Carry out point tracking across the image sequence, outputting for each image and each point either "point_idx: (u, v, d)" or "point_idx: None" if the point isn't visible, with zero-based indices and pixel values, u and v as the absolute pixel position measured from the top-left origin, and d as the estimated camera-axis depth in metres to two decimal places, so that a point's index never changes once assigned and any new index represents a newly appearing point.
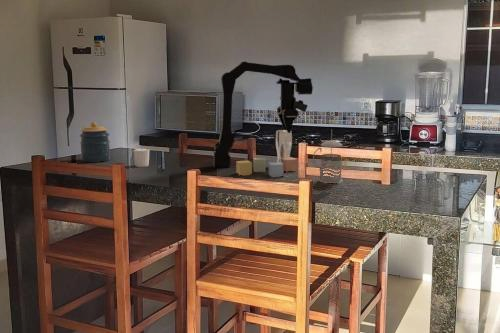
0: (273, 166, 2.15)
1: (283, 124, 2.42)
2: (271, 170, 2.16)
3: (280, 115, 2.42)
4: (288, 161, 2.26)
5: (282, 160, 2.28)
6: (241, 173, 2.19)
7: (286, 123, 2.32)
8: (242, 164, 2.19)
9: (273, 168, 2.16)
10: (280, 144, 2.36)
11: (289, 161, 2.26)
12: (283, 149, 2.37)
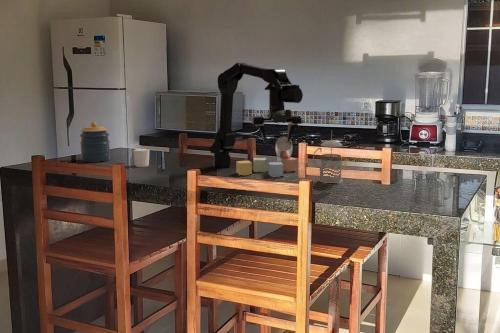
0: (273, 166, 2.15)
1: (287, 135, 2.18)
2: (271, 170, 2.16)
3: (288, 125, 2.18)
4: (288, 161, 2.26)
5: (282, 160, 2.28)
6: (241, 173, 2.19)
7: (260, 131, 2.17)
8: (242, 164, 2.19)
9: (273, 168, 2.16)
10: (280, 156, 2.29)
11: (289, 161, 2.26)
12: None
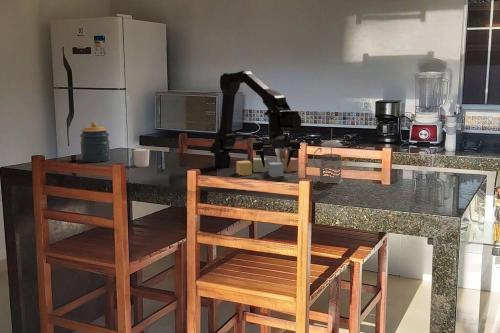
0: (273, 166, 2.15)
1: None
2: (271, 170, 2.16)
3: (287, 149, 2.20)
4: None
5: (283, 160, 2.28)
6: (241, 173, 2.19)
7: (260, 156, 2.18)
8: (242, 164, 2.19)
9: (273, 168, 2.16)
10: (280, 157, 2.29)
11: (290, 161, 2.25)
12: None
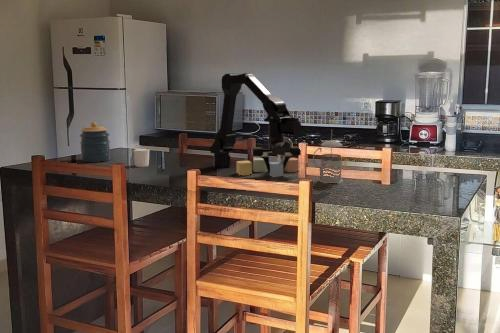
0: (273, 166, 2.15)
1: None
2: (271, 170, 2.16)
3: None
4: (290, 161, 2.25)
5: None
6: (241, 173, 2.19)
7: (265, 162, 2.19)
8: (242, 164, 2.19)
9: (273, 168, 2.16)
10: (281, 157, 2.28)
11: (291, 161, 2.25)
12: None
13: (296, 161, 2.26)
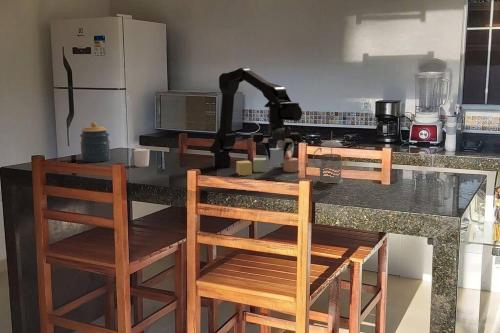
0: (273, 152, 2.14)
1: None
2: (271, 156, 2.15)
3: (283, 142, 2.19)
4: (291, 162, 2.25)
5: (285, 161, 2.27)
6: (241, 173, 2.19)
7: (265, 148, 2.18)
8: (242, 164, 2.19)
9: (273, 154, 2.14)
10: None
11: (292, 161, 2.25)
12: None
13: (297, 161, 2.26)
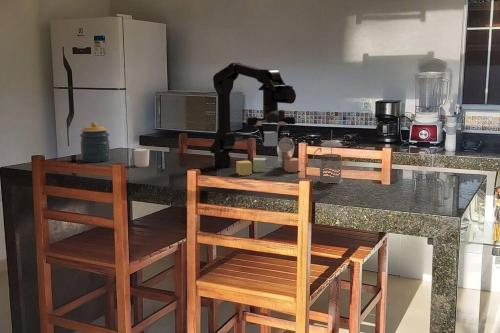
0: (267, 135, 2.15)
1: None
2: (265, 139, 2.15)
3: (277, 125, 2.19)
4: (292, 162, 2.24)
5: (286, 161, 2.27)
6: (241, 173, 2.19)
7: (259, 131, 2.18)
8: (242, 164, 2.19)
9: (267, 137, 2.15)
10: (282, 157, 2.27)
11: (293, 162, 2.24)
12: None
13: None
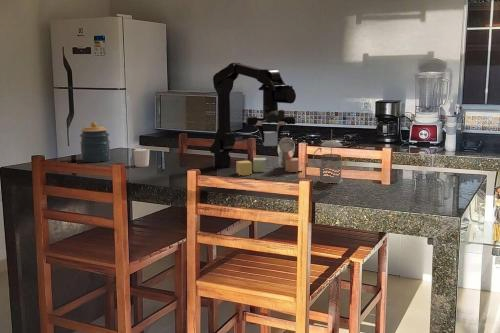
0: (267, 135, 2.15)
1: None
2: (265, 139, 2.15)
3: (277, 125, 2.19)
4: (293, 162, 2.24)
5: (287, 161, 2.27)
6: (241, 173, 2.19)
7: (259, 131, 2.18)
8: (242, 164, 2.19)
9: (267, 137, 2.15)
10: (282, 157, 2.27)
11: (294, 162, 2.24)
12: (285, 159, 2.29)
13: None
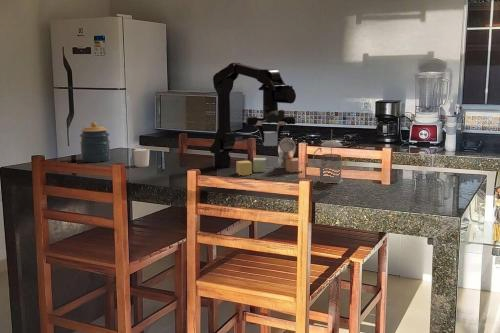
0: (267, 135, 2.15)
1: None
2: (265, 139, 2.15)
3: (277, 125, 2.19)
4: (294, 162, 2.24)
5: (288, 161, 2.26)
6: (241, 173, 2.19)
7: (259, 131, 2.18)
8: (242, 164, 2.19)
9: (267, 137, 2.15)
10: (283, 157, 2.27)
11: (295, 162, 2.24)
12: None
13: None
